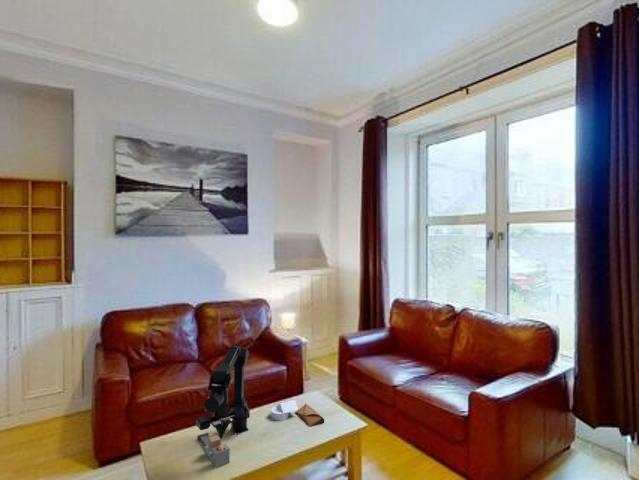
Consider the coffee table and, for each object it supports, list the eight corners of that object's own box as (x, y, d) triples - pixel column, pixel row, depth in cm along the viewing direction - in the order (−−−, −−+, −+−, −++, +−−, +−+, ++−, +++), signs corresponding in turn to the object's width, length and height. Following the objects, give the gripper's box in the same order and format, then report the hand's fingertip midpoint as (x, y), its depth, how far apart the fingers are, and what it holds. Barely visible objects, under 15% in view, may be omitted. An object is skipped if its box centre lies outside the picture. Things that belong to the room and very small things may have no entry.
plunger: (222, 451, 155) (222, 444, 155) (224, 453, 153) (224, 446, 153) (217, 453, 154) (217, 445, 154) (219, 455, 152) (219, 448, 152)
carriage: (219, 447, 163) (219, 432, 163) (224, 454, 159) (224, 439, 158) (204, 452, 160) (204, 437, 159) (209, 460, 155) (209, 444, 155)
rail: (207, 436, 173) (207, 432, 173) (223, 457, 157) (223, 452, 157) (197, 439, 170) (197, 435, 170) (212, 461, 154) (212, 457, 154)
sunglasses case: (292, 412, 197) (298, 399, 198) (302, 415, 200) (308, 403, 202) (310, 427, 182) (316, 414, 183) (320, 431, 185) (326, 418, 186)
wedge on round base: (291, 408, 201) (268, 414, 195) (291, 396, 201) (268, 401, 194) (298, 416, 193) (275, 422, 187) (298, 403, 193) (275, 408, 187)
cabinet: (225, 457, 157) (225, 443, 157) (229, 462, 154) (229, 448, 153) (211, 463, 153) (211, 448, 153) (215, 468, 150) (215, 453, 150)
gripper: (234, 388, 165) (234, 423, 165) (191, 399, 154) (191, 436, 154) (245, 397, 156) (244, 434, 156) (200, 409, 145) (200, 449, 145)
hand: (220, 438), depth 153 cm, fingers closed
